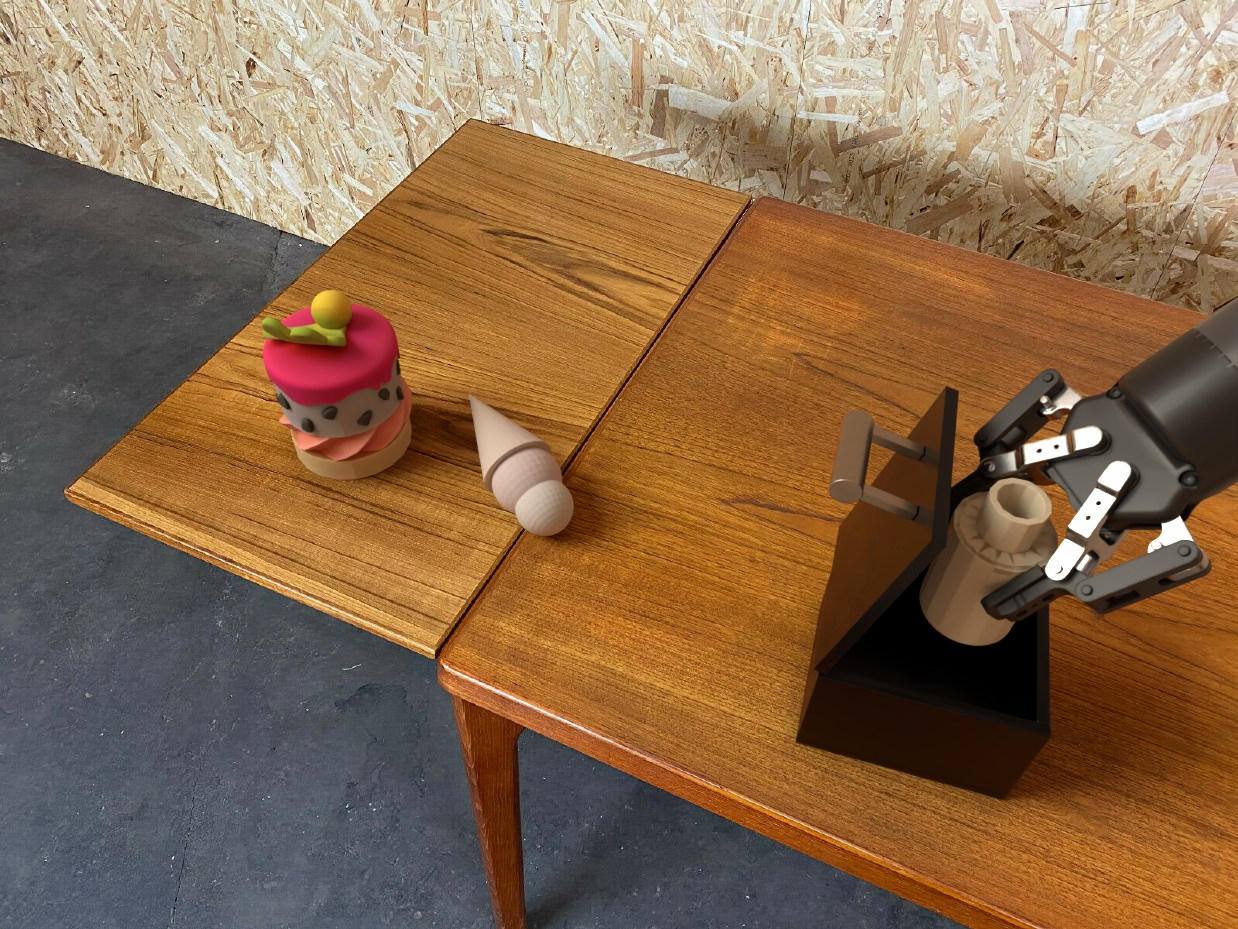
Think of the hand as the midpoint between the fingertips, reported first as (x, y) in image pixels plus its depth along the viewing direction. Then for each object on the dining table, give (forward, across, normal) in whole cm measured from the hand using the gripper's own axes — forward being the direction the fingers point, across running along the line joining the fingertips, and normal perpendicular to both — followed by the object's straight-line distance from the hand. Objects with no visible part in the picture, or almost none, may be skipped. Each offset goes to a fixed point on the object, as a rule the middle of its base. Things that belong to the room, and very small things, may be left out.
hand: (963, 565), depth 54 cm
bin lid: (+2, -3, -2) cm, 4 cm away
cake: (+37, -34, -13) cm, 52 cm away
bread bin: (+11, 0, +12) cm, 16 cm away
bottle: (+2, 0, +5) cm, 5 cm away
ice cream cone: (+28, -26, -4) cm, 38 cm away
